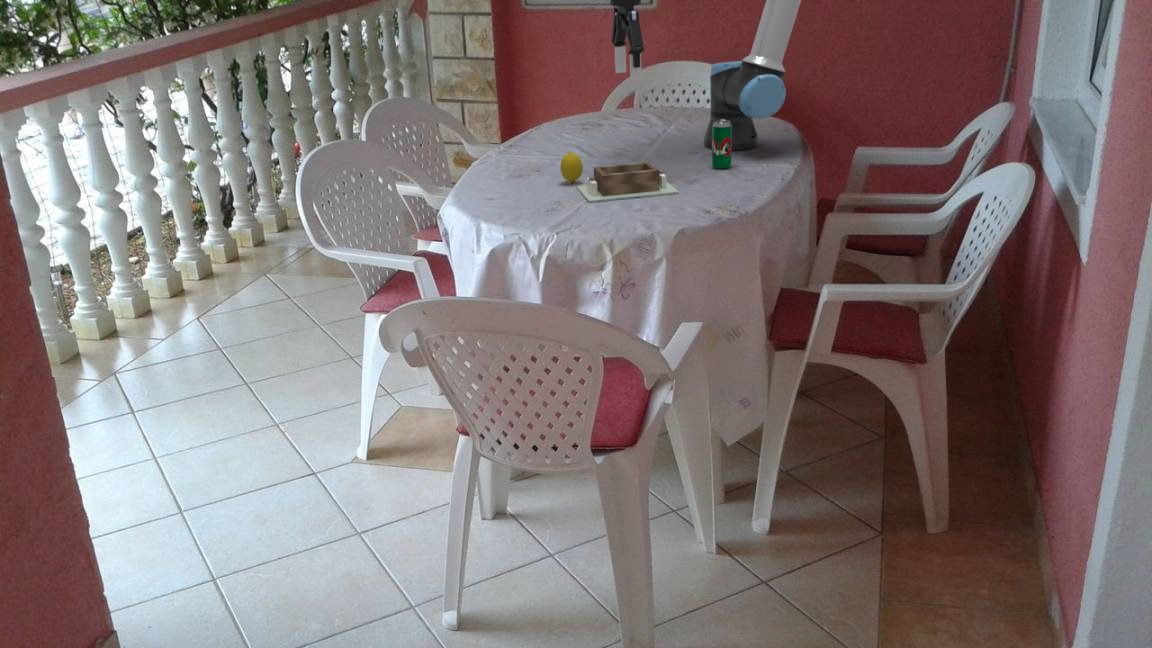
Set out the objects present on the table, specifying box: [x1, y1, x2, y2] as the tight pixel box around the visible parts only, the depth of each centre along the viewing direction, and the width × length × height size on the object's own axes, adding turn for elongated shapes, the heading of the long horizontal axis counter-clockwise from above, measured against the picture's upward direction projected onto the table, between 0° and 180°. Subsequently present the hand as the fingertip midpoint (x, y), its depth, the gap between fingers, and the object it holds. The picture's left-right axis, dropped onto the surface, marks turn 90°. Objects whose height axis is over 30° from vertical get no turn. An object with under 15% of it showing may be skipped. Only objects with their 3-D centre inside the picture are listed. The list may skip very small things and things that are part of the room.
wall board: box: [575, 169, 680, 203], centre depth 250 cm, size 22×14×4 cm, turn 102°
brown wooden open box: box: [593, 161, 660, 196], centre depth 250 cm, size 14×9×5 cm, turn 102°
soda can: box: [711, 120, 733, 170], centre depth 266 cm, size 5×5×12 cm
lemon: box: [560, 151, 584, 184], centre depth 258 cm, size 6×6×8 cm
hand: (628, 76), depth 260 cm, fingers open, 13 cm apart
